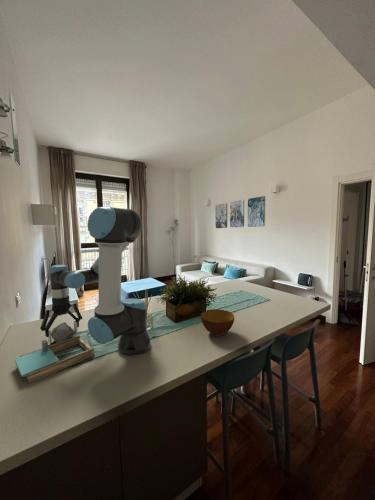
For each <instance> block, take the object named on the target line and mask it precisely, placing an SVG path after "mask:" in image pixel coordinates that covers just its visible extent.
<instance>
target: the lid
mask: <svg viewBox="0 0 375 500" xmlns="http://www.w3.org/2000/svg"><path fill="white" fill-rule="evenodd" d="M48 346H49V342H48V339H43V340H41V348H40V349H41V350H39V349H38V350H39V351H36V350H35V351H36V352H33V351H32V352H33V353H30V352H29V353H30V354H28V353H26V354H27V355H25V354H23V355H24V356H22V355H20V356H21V357H16V358H14V362H15V365H16V367H17V369H18V372H19V373H20V377H21V378H24V377H26V376H27V375H28V374H29V373H32V372H34V371H37V370H39V369H42V368H44V367H47V366H49V365H51V364H54V363H56V362H59V361H58V359H59V358H58V357H57V358H58V359H57V358H56V357H55V355H56V354H55V353H54V354H55V355H54V354H53V353H52V352H51V350H50V349H49V348H48Z"/></svg>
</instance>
